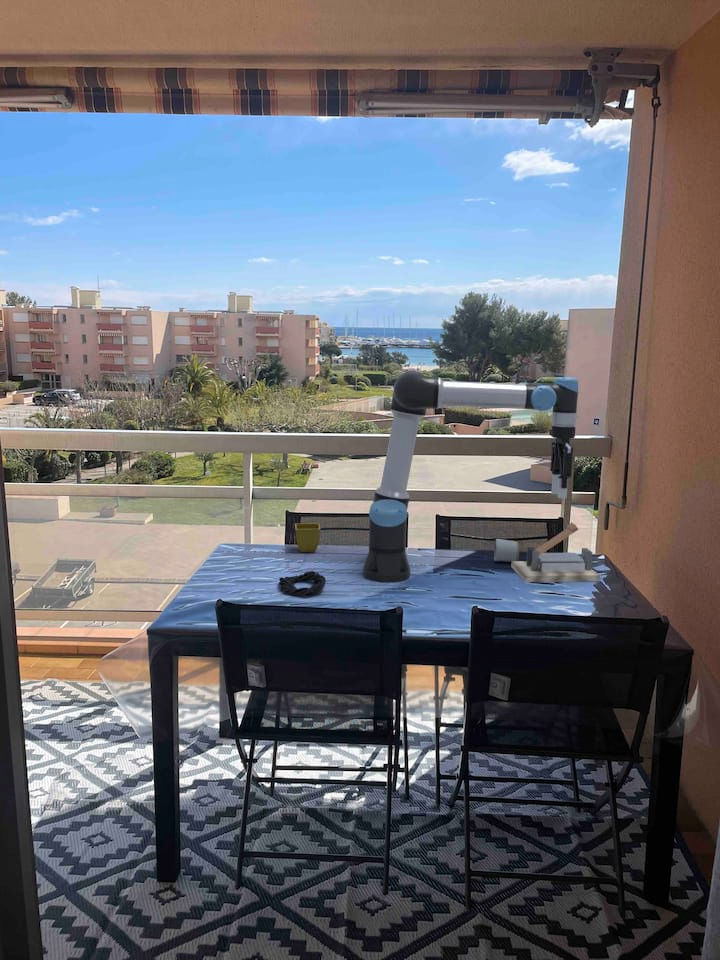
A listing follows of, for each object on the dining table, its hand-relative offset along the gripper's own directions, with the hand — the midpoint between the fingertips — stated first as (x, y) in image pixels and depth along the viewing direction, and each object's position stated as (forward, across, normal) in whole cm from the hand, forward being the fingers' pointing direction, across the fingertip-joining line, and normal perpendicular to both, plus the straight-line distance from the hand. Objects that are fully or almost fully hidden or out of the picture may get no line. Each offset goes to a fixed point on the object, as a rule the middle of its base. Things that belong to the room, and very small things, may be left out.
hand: (558, 495), depth 246 cm
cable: (+25, -19, +84) cm, 90 cm away
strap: (+15, -6, +2) cm, 16 cm away
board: (+25, -6, +2) cm, 26 cm away
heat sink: (+23, -6, +1) cm, 24 cm away
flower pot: (+25, +23, +82) cm, 89 cm away
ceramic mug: (+25, +10, +14) cm, 31 cm away
